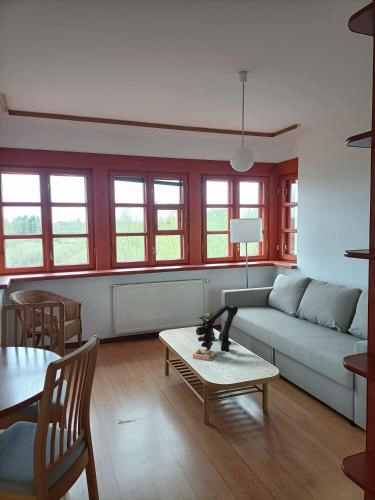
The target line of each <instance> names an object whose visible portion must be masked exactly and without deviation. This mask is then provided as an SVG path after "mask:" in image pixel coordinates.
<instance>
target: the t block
mask: <svg viewBox="0 0 375 500" xmlns="http://www.w3.org/2000/svg"><path fill="white" fill-rule="evenodd" d="M215 352H216V351H214V350H211V349H210V350H208V349H207V348H204V349H203V350H202V355H206V356H209V357H211V358H213V357H214V356H215Z"/></svg>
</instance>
